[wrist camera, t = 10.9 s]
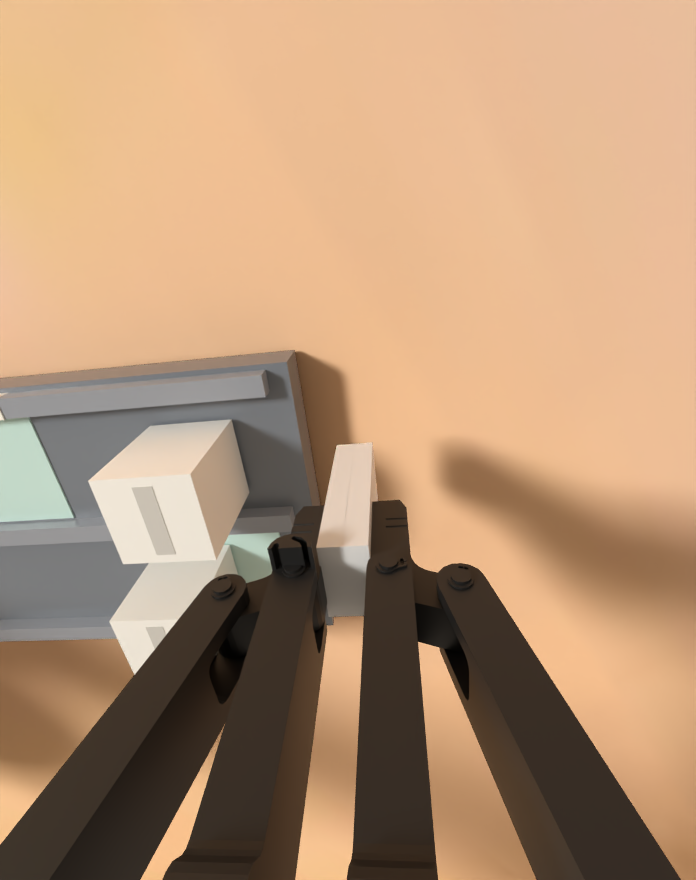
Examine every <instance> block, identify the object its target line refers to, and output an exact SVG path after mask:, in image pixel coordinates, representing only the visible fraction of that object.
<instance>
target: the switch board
mask: <svg viewBox="0 0 696 880" xmlns="http://www.w3.org/2000/svg"><path fill="white" fill-rule="evenodd" d="M230 419H232V423H233V427H234V432H235V436H236V440H237V444H238V448H239V452H240V456H241V460H242V464H243V468H244V472H245V476H246V480H247V485H248V489H249V494H248V496H247V498H246V500H245V503H244V505H243V507H242V509H241V511H240V513H239V515H238V517H237V519H236V521H235V523H234V525H233V527H232V529H231V531H230V533H229V535H228V537H227V540H226V542H225V544H224V545H230V548H231V552H232V555H233V559H234V562H235V566H236V569H237V573H238V575H239V576H242V577H243V578H244V580H245V581H246V583H248V582H252V581H255V580H259V579H262V578H265V577H267V576H269V575H270V574H271V573H272V567H271V562H270V558H269V554H268V550H267V548H268V547H269V545H270V544H271V543H272V542H273V541H274V540H275V539H277V538H279V537H281V536H284V535H288V534H291V530H292V527H293V524H294V520H295V517H296V514H297V513H298V512H299V511H300V510H301V509H302V508H303V507H304V506H320V499H319V493H318V487H317V481H316V475H315V469H314V463H313V457H312V451H311V445H310V439H309V433H308V427H307V421H306V415H305V409H304V403H303V397H302V391H301V385H300V379H299V373H298V367H297V361H296V355H295V350H290V351H279V352H269V353H258V354H248V355H238V356H227V357H217V358H206V359H196V360H185V361H175V362H165V363H154V364H144V365H133V366H123V367H113V368H102V369H92V370H81V371H71V372H60V373H50V374H40V375H29V376H19V377H8V378H0V641H40V640H80V639H117V637H116V635H115V633H114V631H113V629H112V626H111V624H110V622H109V621H110V620H111V618H112V617H113V615H114V614H115V612H116V611H117V609H118V608H119V606H120V605H121V603H122V602H123V600H124V599H125V598H126V596H127V595H128V593H129V592H130V590H131V589H132V587H133V586H134V584H135V583H136V581H137V580H138V578H139V577H140V575H141V574H142V573H143V571H144V570H145V568H146V567H147V565H148V564H149V563H140V564H123V563H122V560H121V558H120V555H119V553H118V551H117V548H116V546H115V544H114V541H113V539H112V537H111V534H110V532H109V529H108V527H107V525H106V522H105V520H104V518H103V515H102V513H101V511H100V508H99V506H98V503H97V501H96V499H95V496H94V494H93V492H92V489H91V487H90V484H89V482H88V481H89V480H90V479H91V478H92V477H93V476H94V475H95V474H96V473H98V472H99V471H100V470H101V469H102V468H103V467H104V466H105V465H107V464H108V463H109V462H110V461H111V460H112V459H113V458H114V457H116V456H117V455H118V454H119V453H120V452H121V451H122V450H123V449H125V448H126V447H127V446H128V445H129V444H130V443H131V442H132V441H134V440H135V439H136V438H137V437H138V436H139V435H140V434H141V433H143V432H144V431H145V430H146V429H147V428H148V427H149V426H154V425H167V424H179V423H192V422H205V421H217V420H230ZM325 620H326V625H333V623H334V617H329V616H328V610H327V608H326V615H325Z"/></svg>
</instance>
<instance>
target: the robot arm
mask: <svg viewBox="0 0 696 880" xmlns="http://www.w3.org/2000/svg"><path fill="white" fill-rule="evenodd" d="M267 550H268V554H269V558H270V562H271V567H272V573H271V574H270V575H269V576H267V577H265V578H262V579H259V580H255V581H252V582H248V583H246V581H245V580H244V578H243V577H242V576H239V575H237V574H225V575H222V576H218V577H217V578H215V579H213V580H211V581H210V582H209V583H208V584H207V585H206V586H204V588H203V589H202V590H201V591H200V593H199V594H198V595H197V597H196V598H195V599H194V600H193V602H192V603H191V604H190V605H189V607H188V608H187V609H186V610H185V612H184V613H183V614H182V616H181V617H180V618H179V619H178V621H177V622H176V623H175V624H174V626H173V627H172V628H171V629H170V631H169V632H168V633H167V635H166V636H165V637H164V638H163V640H162V641H161V642H160V643H159V645H158V646H157V647H156V648H155V650H154V651H153V652H152V654H151V655H150V656H149V657H148V659H147V660H146V661H145V662H144V664H143V665H142V666H141V667H140V669H139V670H138V671H137V672H136V674H135V675H134V676H133V678H132V679H131V680H130V681H129V683H128V684H127V685H126V686H125V688H124V689H123V690H122V691H121V693H120V694H119V695H118V697H117V698H116V699H115V700H114V702H113V703H112V704H111V705H110V707H109V708H108V709H107V710H106V712H105V713H104V714H103V716H102V717H101V718H100V719H99V721H98V722H97V723H96V724H95V726H94V727H93V728H92V729H91V731H90V732H89V733H88V735H87V736H86V737H85V738H84V740H83V741H82V742H81V743H80V745H79V746H78V747H77V748H76V750H75V751H74V752H73V754H72V755H71V756H70V757H69V759H68V760H67V761H66V762H65V764H64V765H63V766H62V767H61V769H60V770H59V771H58V773H57V774H56V775H55V776H54V778H53V779H52V780H51V781H50V783H49V784H48V785H47V786H46V788H45V789H44V790H43V792H42V793H41V794H40V795H39V797H38V798H37V799H36V800H35V802H34V803H33V804H32V805H31V807H30V808H29V809H28V811H27V812H26V813H25V814H24V816H23V817H22V818H21V819H20V821H19V822H18V823H17V824H16V826H15V827H14V828H13V829H12V831H11V832H10V833H9V835H8V836H7V837H6V838H5V840H4V841H3V842H2V843H1V845H0V880H140V879H141V877H142V875H143V874H144V872H145V870H146V868H147V866H148V864H149V863H150V861H151V859H152V857H153V855H154V853H155V851H156V850H157V848H158V846H159V844H160V842H161V840H162V839H163V837H164V835H165V833H166V831H167V829H168V827H169V826H170V824H171V822H172V820H173V818H174V816H175V815H176V813H177V811H178V809H179V807H180V805H181V803H182V802H183V800H184V798H185V796H186V794H187V792H188V791H189V789H190V787H191V785H192V783H193V781H194V780H195V778H196V776H197V774H198V772H199V770H200V768H201V767H202V765H203V763H204V761H205V759H206V757H207V756H208V754H209V752H210V750H211V748H212V746H213V744H214V743H215V741H216V739H217V737H218V735H219V733H220V732H221V730H222V728H223V726H224V724H225V726H224V729H223V733H222V736H221V739H220V742H219V746H218V749H217V752H216V755H215V759H214V762H213V765H212V768H211V772H210V775H209V778H208V781H207V785H206V788H205V791H204V794H203V798H202V801H201V804H200V807H199V811H198V814H197V817H196V820H195V824H194V827H193V830H192V833H191V837H190V840H189V842H188V845H187V848H186V850H185V851H184V853H183V854H182V855H181V856H180V857H178V858H177V859H175V860H174V861H172V863H171V864H170V866H169V868H168V869H167V871H166V872H165V875H164V877H163V880H295V876H296V868H297V860H298V853H299V845H300V837H301V829H302V822H303V814H304V806H305V798H306V791H307V783H308V775H309V767H310V760H311V752H312V744H313V736H314V729H315V721H316V713H317V705H318V698H319V690H320V682H321V674H322V667H323V659H324V651H325V643H326V636H327V626H326V620H325V615H326V608H327V610H328V616H329V617H341V616H364V628H363V649H362V670H361V691H360V712H359V733H358V754H357V775H356V796H355V817H354V838H353V853H352V860H351V862H350V864H349V868H348V875H347V880H438V875H437V865H436V855H435V843H434V831H433V819H432V807H431V795H430V782H429V770H428V758H427V746H426V734H425V722H424V710H423V698H422V686H421V674H420V662H419V649H418V642H422V643H425V644H429V645H433V646H436V647H440V652H441V655H442V657H443V659H444V662H445V664H446V666H447V669H448V671H449V673H450V676H451V678H452V681H453V683H454V685H455V688H456V690H457V692H458V695H459V697H460V699H461V702H462V704H463V707H464V709H465V711H466V714H467V716H468V718H469V721H470V723H471V725H472V728H473V730H474V733H475V735H476V737H477V740H478V742H479V744H480V747H481V749H482V752H483V754H484V756H485V759H486V761H487V763H488V766H489V768H490V770H491V773H492V775H493V778H494V780H495V782H496V785H497V787H498V789H499V792H500V794H501V796H502V799H503V801H504V804H505V806H506V808H507V811H508V813H509V815H510V818H511V820H512V822H513V825H514V827H515V830H516V832H517V834H518V837H519V839H520V841H521V844H522V846H523V848H524V851H525V853H526V856H527V858H528V860H529V863H530V865H531V867H532V870H533V872H534V874H535V877H536V879H537V880H681V879H680V878H679V876H678V874H677V873H676V871H675V870H674V868H673V867H672V865H671V864H670V862H669V861H668V859H667V857H666V856H665V854H664V853H663V851H662V850H661V848H660V847H659V845H658V843H657V842H656V840H655V839H654V837H653V836H652V834H651V833H650V831H649V830H648V828H647V826H646V825H645V823H644V822H643V820H642V819H641V817H640V816H639V814H638V813H637V811H636V809H635V808H634V806H633V805H632V803H631V802H630V800H629V799H628V797H627V796H626V794H625V792H624V791H623V789H622V788H621V786H620V785H619V783H618V782H617V780H616V779H615V777H614V775H613V774H612V772H611V771H610V769H609V768H608V766H607V765H606V763H605V762H604V760H603V758H602V757H601V755H600V754H599V752H598V751H597V749H596V748H595V746H594V744H593V743H592V741H591V740H590V738H589V737H588V735H587V734H586V732H585V731H584V729H583V727H582V726H581V724H580V723H579V721H578V720H577V718H576V717H575V715H574V714H573V712H572V710H571V709H570V707H569V706H568V704H567V703H566V701H565V700H564V698H563V697H562V695H561V693H560V692H559V690H558V689H557V687H556V686H555V684H554V683H553V681H552V680H551V678H550V676H549V675H548V673H547V672H546V670H545V669H544V667H543V666H542V664H541V663H540V661H539V659H538V658H537V656H536V655H535V653H534V652H533V650H532V649H531V647H530V646H529V644H528V642H527V641H526V639H525V638H524V636H523V635H522V633H521V632H520V630H519V628H518V627H517V625H516V624H515V622H514V621H513V619H512V618H511V616H510V615H509V613H508V611H507V610H506V608H505V607H504V605H503V604H502V602H501V601H500V599H499V598H498V596H497V594H496V593H495V591H494V590H493V588H492V587H491V585H490V584H489V582H488V581H487V579H486V577H485V576H484V575H483V573H482V572H481V571H480V570H479V569H477V568H475V567H473V566H471V565H467V564H462V563H458V564H450V565H448V566H445V567H443V568H442V569H441V570H440V571H439V572H438V573H436V572H431V571H428V570H425V569H423V568H421V567H419V566H418V565H416V564H415V563H414V561H413V560H412V558H411V555H410V545H409V533H408V522H407V510H406V507H405V506H404V505H403V503H402V502H401V501H400V500H391V501H378V493H377V483H376V473H375V463H374V453H373V443H359V444H345V445H337V446H336V451H335V456H334V461H333V466H332V471H331V476H330V481H329V486H328V491H327V496H326V501H325V505H320V506H304V507H303V508H302V509H301V510H300V511H299V512H298V513H297V514H296V517H295V520H294V524H293V527H292V530H291V534H288V535H284V536H281V537H279V538H277V539H275V540H274V541H273V542H272V543H271V544H270V545H269V547H268V548H267ZM225 722H226V723H225Z"/></svg>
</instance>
